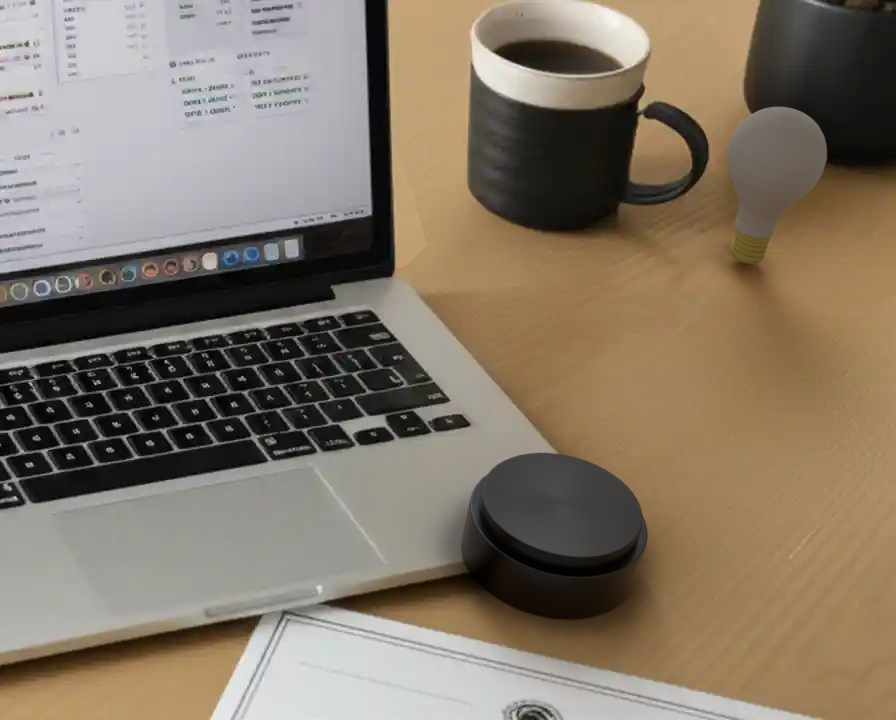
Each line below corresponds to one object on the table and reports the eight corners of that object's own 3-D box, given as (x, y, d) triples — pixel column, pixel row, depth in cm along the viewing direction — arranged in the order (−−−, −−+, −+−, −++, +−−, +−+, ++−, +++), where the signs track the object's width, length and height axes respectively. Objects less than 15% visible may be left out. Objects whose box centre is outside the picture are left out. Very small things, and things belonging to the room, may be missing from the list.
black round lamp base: (587, 491, 80) (601, 438, 78) (667, 605, 74) (684, 550, 72) (434, 512, 78) (445, 457, 76) (504, 631, 72) (518, 575, 70)
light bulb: (775, 241, 102) (821, 93, 96) (801, 289, 98) (852, 137, 92) (688, 235, 102) (730, 87, 96) (711, 283, 97) (756, 131, 91)
